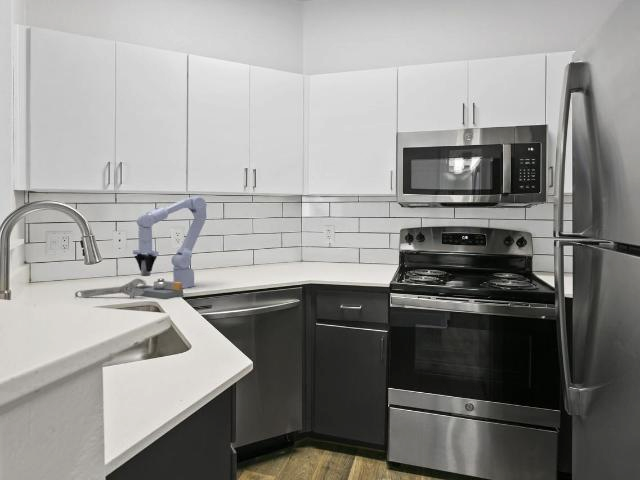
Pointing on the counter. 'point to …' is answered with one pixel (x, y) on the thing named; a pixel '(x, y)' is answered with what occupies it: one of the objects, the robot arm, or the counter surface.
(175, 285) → the silver elongated block
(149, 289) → the pin board
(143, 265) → the steel pin
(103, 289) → the wrench
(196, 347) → the counter surface
